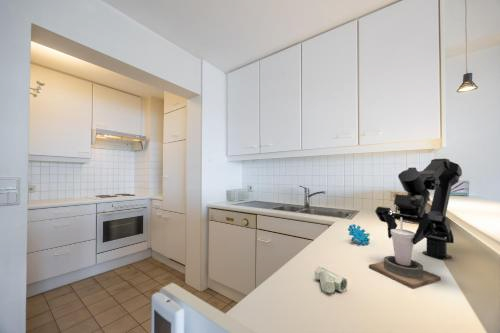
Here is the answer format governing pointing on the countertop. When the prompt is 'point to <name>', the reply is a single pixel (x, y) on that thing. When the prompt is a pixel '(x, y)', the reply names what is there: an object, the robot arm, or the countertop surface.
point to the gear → (358, 234)
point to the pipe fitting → (330, 280)
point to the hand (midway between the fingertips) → (400, 240)
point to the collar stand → (405, 272)
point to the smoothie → (402, 245)
